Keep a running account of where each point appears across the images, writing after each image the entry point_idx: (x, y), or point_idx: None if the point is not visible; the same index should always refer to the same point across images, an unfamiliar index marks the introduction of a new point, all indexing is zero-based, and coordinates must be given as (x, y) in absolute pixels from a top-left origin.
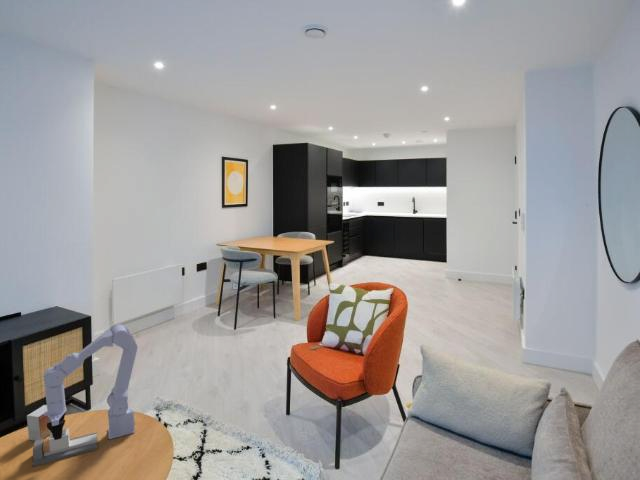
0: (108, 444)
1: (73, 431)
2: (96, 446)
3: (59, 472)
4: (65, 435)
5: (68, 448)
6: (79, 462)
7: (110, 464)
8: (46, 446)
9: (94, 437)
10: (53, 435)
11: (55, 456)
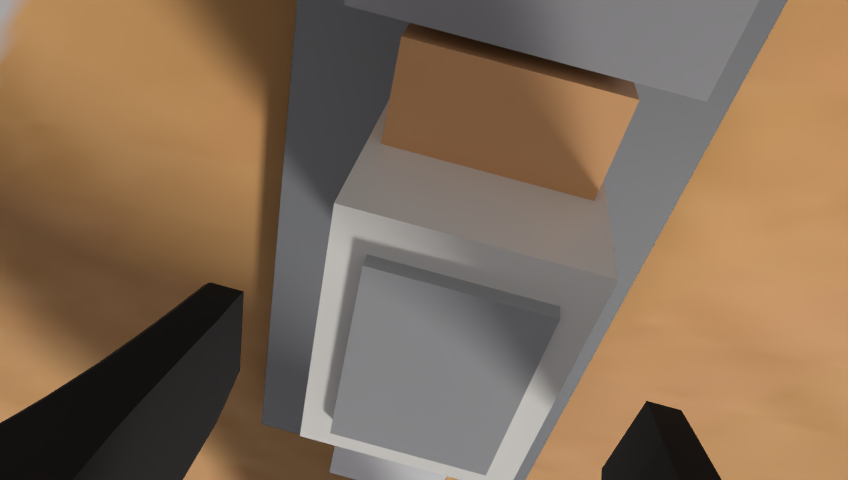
0: (290, 465)
1: (817, 373)
2: (266, 423)
3: (29, 76)
4: (304, 411)
5: None
6: (131, 259)
7: (5, 394)
8: (397, 88)
9: (380, 473)
10: (116, 358)
11: (321, 112)
